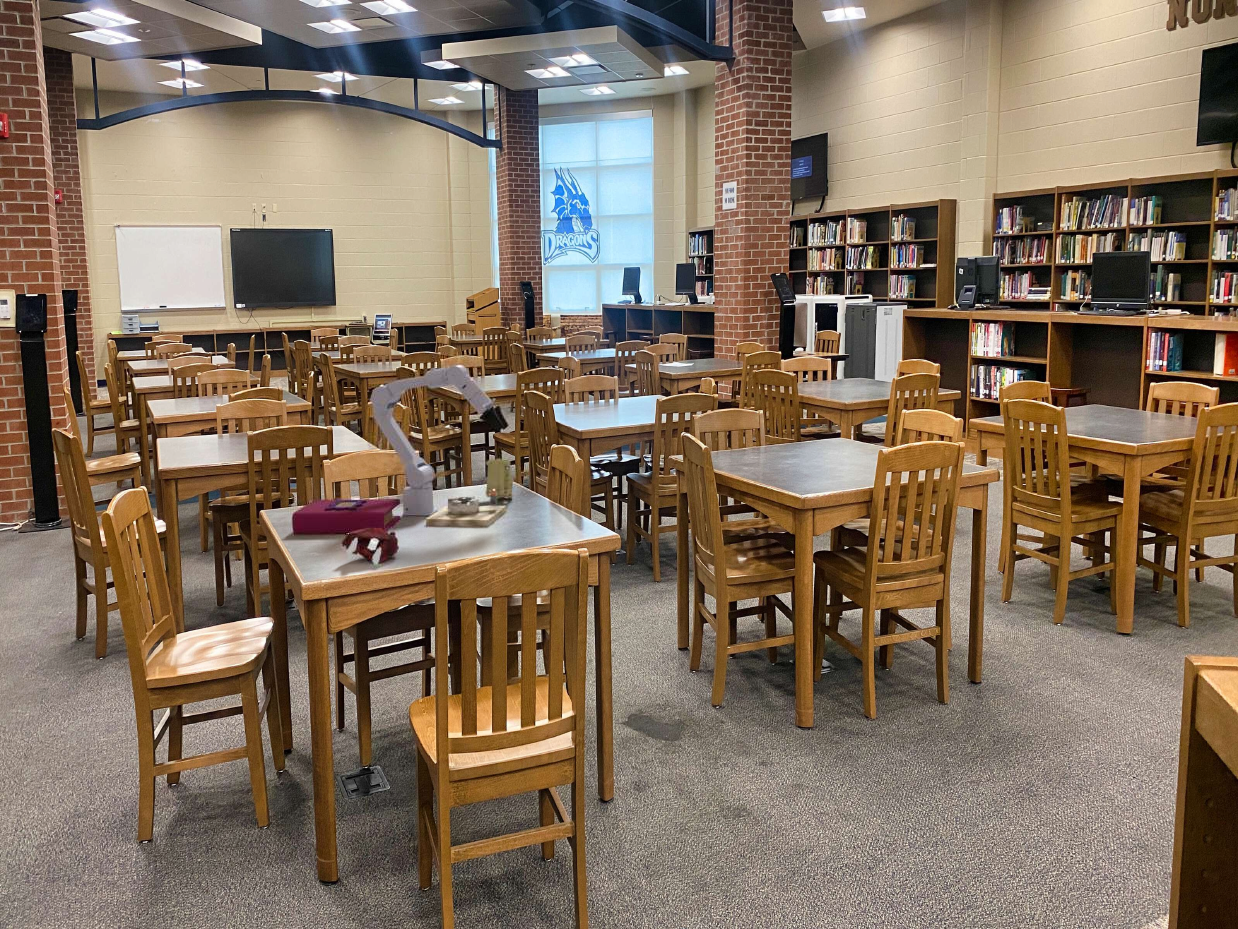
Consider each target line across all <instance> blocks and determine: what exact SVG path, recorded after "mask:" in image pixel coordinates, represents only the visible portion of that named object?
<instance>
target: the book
mask: <svg viewBox="0 0 1238 929" xmlns="http://www.w3.org/2000/svg"><path fill="white" fill-rule="evenodd" d="M399 505H401V500H400V498H387V499H385V498H384V499H382V498H381V499H378V498H377V499H370V498H369V499H328V498H327V499H313V500H311V501H309V503H307V504H305V505H304V506H303V507H301V508H299V509H297V510H296V511H294V512H292V516H291V523H292V524H291V525H292V526H291V527H292V533H293V535H331V534H330V533H350V532H352V531H356V530H360V529H365V528H381V529H383V530H384V531H386V532H387V533H388V532H389V531H390V530H391V529H392V528H393V527H395V525H396V524H397V523H399V522H400V521H401V519H402V516H401V515H394V514H393V510H394V509H395V508H396V507H398V506H399ZM399 520H400V521H399ZM391 527H392V528H391ZM389 529H390V530H389ZM388 530H389V531H388Z"/></svg>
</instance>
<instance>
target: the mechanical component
mask: <svg viewBox="0 0 1238 929" xmlns="http://www.w3.org/2000/svg"><path fill="white" fill-rule="evenodd" d="M485 465H487V478H486V490H485V495H486V497H487V498H490V499H491V496H490V491H491V490H492V489H495V490H497V492H498V495H497V500H498V499H502V498H503V499H506V498H507V500H513V498H514V496H513V489H514V488H513V487H514V486H513V484H514V481H515V480H514V477H513V476H511V472H510V471H511V460H509V459H502V458H496V459H489V460H487V461H485ZM492 506H495V505H492Z"/></svg>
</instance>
